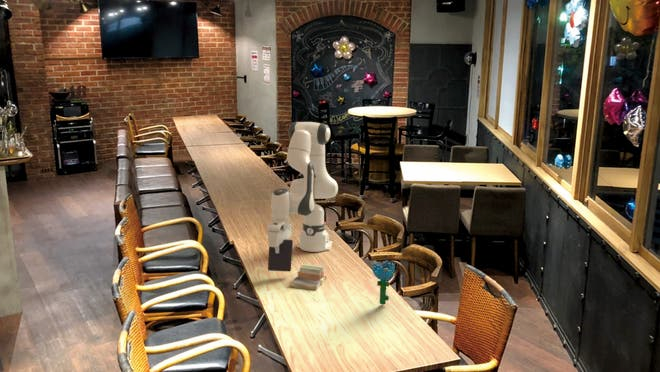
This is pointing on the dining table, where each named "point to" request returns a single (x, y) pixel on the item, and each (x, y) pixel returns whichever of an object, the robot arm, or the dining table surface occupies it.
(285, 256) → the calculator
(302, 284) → the sticky note pad set
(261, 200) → the dining table surface
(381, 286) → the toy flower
